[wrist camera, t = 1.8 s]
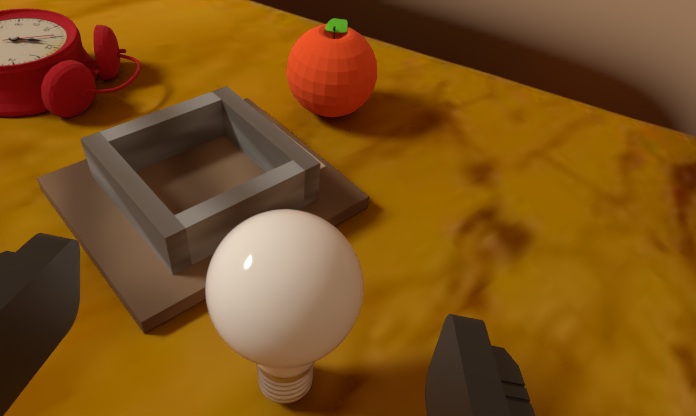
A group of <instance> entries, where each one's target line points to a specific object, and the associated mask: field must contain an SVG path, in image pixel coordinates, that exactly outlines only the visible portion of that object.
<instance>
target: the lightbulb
mask: <svg viewBox="0 0 696 416" xmlns="http://www.w3.org/2000/svg"><path fill="white" fill-rule="evenodd" d="M363 291H364V284H363V275H362V270H361V266H360V263H359V260H358V257H357V255H356V253H355V251H354V249H353V247H352V246H351V244H350V243H349V241H348V240H347V238H346V237H345V236H344V235H343V234H342V233H341V232H340V231H339V230H338V229H337V228H336V227H335V226H333V225H332V224H331V223H329V222H328V221H326V220H324V219H323V218H321V217H319V216H316V215H314V214H311V213H308V212H305V211H300V210H293V209H278V210H271V211H266V212H263V213H260V214H257V215H254V216H252V217H250V218H248V219H246V220H245V221H243V222H241V223H240V224H239V225H237V226H236V227H235V228H234V229H232V230H231V231H230V232H229V233H228V234H227V235H226V236H225V238H224V239H223V240H222V241H221V243H220V244H219V246H218V247H217V249H216V250H215V252H214V254H213V256H212V259H211V261H210V264H209V267H208V271H207V275H206V283H205V296H206V303H207V308H208V312H209V315H210V318H211V321H212V323H213V325H214V327H215V329H216V330H217V332H218V334H219V335H220V336H221V338H222V339H223V340H224V341H225V343H226V344H227V345H228V346H229V347H230V348H232V349H233V350H234V351H235V352H236V353H238V354H239V355H241V356H242V357H244V358H246V359H247V360H249V361H252V362H254V363H256V365H257V371H258V384H259V387H260V390H261V391H262V393H263V394H264V395H265V396H266V397H267V398H268V399H270V400H272V401H274V402H277V403H292V402H295V401H297V400H299V399H301V398H302V397H304V396H305V395H306V394H307V393H308V391H309V390H310V388H311V385H312V381H313V367H314V363H315V361H317V360H319V359H321V358H323V357H325V356H326V355H328V354H329V353H331V352H332V351H333V350H334V349H336V348H337V347H338V346H339V345H340V344H341V343H342V342H343V341H344V339H345V338H346V337H347V336H348V334H349V333H350V331H351V330H352V328H353V326H354V324H355V322H356V320H357V318H358V315H359V312H360V309H361V305H362V300H363Z"/></svg>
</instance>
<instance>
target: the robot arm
mask: <svg viewBox="0 0 696 416" xmlns="http://www.w3.org/2000/svg"><path fill="white" fill-rule="evenodd" d="M79 302H80V247H79V243H78V241H76V240H73V239H68V238H63V237H58V236H53V235H48V234H43V233H38V234H36V235H35V236H34V237H32V238H31V239H30V240H29V241H28V242H27V243H26V244H24V245H23V246H22V247H21V248H20V249H19V250H18V251H16V252H10V251H5V252H3V253H0V416H3V415H4V414H5V413H6V411H7V410H8V409H9V407H10V406H11V405H12V404H13V402H14V401H15V400H16V398H17V397H18V396H19V395H20V393H21V392H22V391H23V389H24V388H25V387H26V386H27V384H28V383H29V382H30V380H31V379H32V378H33V377H34V375H35V374H36V373H37V371H38V370H39V369H40V368H41V366H42V365H43V364H44V362H45V361H46V360H47V359H48V357H49V356H50V355H51V353H52V352H53V351H54V349H55V348H56V347H57V346H58V344H59V343H60V342H61V340H62V339H63V338H64V337H65V335H66V334H67V333H68V331H69V330H70V329H71V327H72V325H73V323H74V321H75V319H76V316H77V313H78V308H79ZM524 385H525V384H524V381H523V378H522V375H521V372H520V369H519V366H518V365H517V364H516V362H515V361H514V360H513V359H512V357H511V356H510V355H509V354H508V353H507V351H506V350H505V349H504V348H501V347H496V346H491V344H490V340H489V336H488V333H487V329H486V326H485V323H484V321H482V320H478V319H473V318H468V317H463V316H457V315H452V314H449V315H448V316H447V317H446V319H445V322H444V324H443V327H442V330H441V333H440V336H439V339H438V342H437V345H436V348H435V351H434V354H433V357H432V360H431V363H430V366H429V369H428V374H427V379H426V387H425V400H426V409H427V416H535V414H534V411H533V408H532V405H531V404H530V403H529V402H530V399H529V396H528V393H527V390H526V388H524Z"/></svg>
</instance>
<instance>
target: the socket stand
mask: <svg viewBox="0 0 696 416" xmlns="http://www.w3.org/2000/svg"><path fill="white" fill-rule="evenodd" d="M81 142H82V145H83V148H84V152H85V155H86V158H87V159H86V160H83V161H80V162H78V163H75V164H72V165H70V166H67V167H64V168H62V169H59V170H57V171H54V172H51V173H49V174H46V175H43V176H41V177H38V178H37V180H38V183H39V185H40V188H41V190H42V191H43V193H44V194H45V196H46V197H47V198H48V200H49V201H50V203H51V204H52V205H53V207H54V208H55V210H56V211H57V212H58V214H59V215H60V217H61V218H62V219H63V221H64V222H65V224H66V225H67V226H68V228H69V229H70V230H71V232H72V233H73V235H74V236H75V237H76V239H77V240H78V242H79V243H80V244H81V246H82V247H83V249H84V250H85V251H86V253H87V254H88V256H89V257H90V258H91V260H92V261H93V263H94V264H95V265H96V267H97V268H98V270H99V271H100V272H101V274H102V275H103V277H104V278H105V279H106V281H107V282H108V284H109V285H110V286H111V288H112V289H113V291H114V292H115V293H116V295H117V296H118V298H119V299H120V300H121V302H122V303H123V305H124V306H125V307H126V309H127V310H128V312H129V313H130V314H131V316H132V317H133V319H134V320H135V321H136V323H137V324H138V326H139V327H140V328H141V330H142V331H143V333H146V332H148V331H150V330H152V329H153V328H155V327H157V326H159V325H160V324H162V323H164V322H166V321H167V320H169V319H171V318H173V317H175V316H176V315H178V314H180V313H182V312H183V311H185V310H187V309H189V308H190V307H192V306H194V305H196V304H198V303H199V302H201V301H203V300H205V299H206V296H205V283H206V275H207V271H208V267H209V264H210V261H211V259H212V256H213V254H214V252H215V250H216V249H217V247H218V246H219V244H220V243H221V241H222V240H223V239H224V238H225V236H226V235H227V234H228V233H229V232H230V231H231V230H232V229H234V228H235V227H236V226H237V225H239V224H240V223H241V222H243V221H245V220H246V219H248V218H250V217H252V216H254V215H257V214H260V213H263V212H266V211H271V210H278V209H293V210H300V211H305V212H308V213H311V214H314V215H316V216H319V217H321V218H323V219H324V220H326V221H328V222H329V223H331V224H332V225H333V226H336V225H337V224H339V223H341V222H343V221H345V220H346V219H348V218H350V217H352V216H353V215H355V214H357V213H359V212H360V211H362V210H364V209H366V208H368V200H369V196H368V195H367V194H365V193H364V192H363V191H362V190H360V189H359V188H358V187H357V186H355V185H354V184H353V183H352V182H350V181H349V180H348V179H347V178H346V177H344V176H343V175H342V174H341V173H339V172H338V171H337V170H336V169H334V168H333V167H332V166H331V165H330V164H328V163H327V162H326V161H325V160H323V159H322V158H321V157H320V156H318V155H317V154H316V153H315V152H314V151H312V150H311V149H310V148H309V147H307V146H306V145H305V144H304V143H302V142H301V141H300V140H299V139H298V138H296V137H295V136H294V135H293V134H291V133H290V132H289V131H288V130H286V129H285V128H284V127H283V126H281V125H280V124H279V123H278V122H277V121H275V120H274V119H273V118H272V117H270V116H269V115H268V114H267V113H265V112H264V111H263V110H262V109H261V108H259V107H258V106H257V105H256V104H254V103H253V102H252V101H251V100H249V99H248V98H247V99H244V100H243V99H242V98H241V97H239V96H238V95H237V94H236V93H234V92H233V91H232V90H231V89H230V88H228V87H227V86H226V87H223V88H221V89H218V90H215V91H212V92H209V93H207V94H204V95H201V96H198V97H196V98H193V99H190V100H187V101H184V102H182V103H179V104H176V105H173V106H170V107H168V108H165V109H162V110H159V111H156V112H154V113H151V114H148V115H145V116H143V117H140V118H137V119H134V120H131V121H129V122H126V123H123V124H120V125H117V126H115V127H112V128H109V129H106V130H104V131H101V132H98V133H95V134H92V135H90V136H87V137H84V138H81Z"/></svg>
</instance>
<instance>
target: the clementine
mask: <svg viewBox="0 0 696 416" xmlns="http://www.w3.org/2000/svg"><path fill="white" fill-rule="evenodd" d="M286 72H287V79H288V83H289V87H290V89H291V91H292V93H293V95H294V97H295V98H296V99H297V101H298V102H299V103H300V104H301V105H302V106H303V107H304V108H306V109H307V110H309V111H310V112H312V113H315V114H317V115H320V116H325V117H339V116H344V115H348V114H350V113H352V112H354V111H356V110H357V109H358V108H360V107H361V106H362V105H363V104H364V103H365V102H366V101H367V100H368V98H369V97H370V95H371V94H372V91H373V89H374V87H375V83H376V80H377V62H376V58H375V55H374V52H373V50H372V48H371V46H370V45H369V44H368V42H367V41H366V40H365V38H364V37H363V36H362V35H360V34H359V33H358V32H356V31H354V30H353V29H351V28H349V27H347V20H342V19H335V18H333V19H332V20H330V21H329V22H328V24H324V25H320V26H317V27H315V28H313V29H311V30H309V31H307V32H306V33H304V34H303V35H302V36H301V37H300V38H299V39H298V40H297V41H296V43H295V44H294V46H293V48H292V50H291V52H290V54H289V58H288V64H287V70H286Z"/></svg>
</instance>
